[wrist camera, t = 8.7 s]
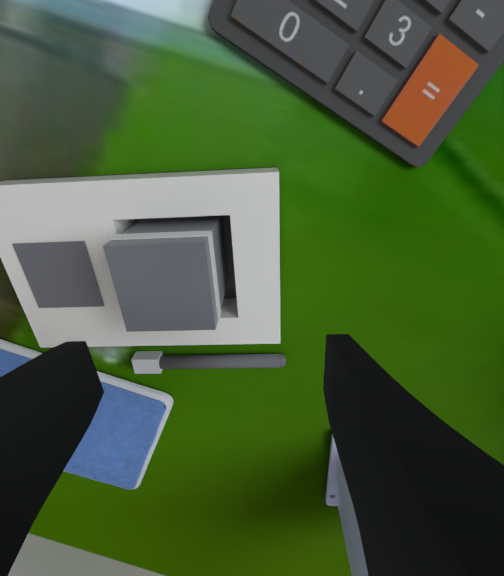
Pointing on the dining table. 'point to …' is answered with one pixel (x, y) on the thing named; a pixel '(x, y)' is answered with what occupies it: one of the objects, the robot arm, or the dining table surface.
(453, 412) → the dining table surface
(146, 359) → the cable
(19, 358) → the tablet computer
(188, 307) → the block
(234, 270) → the switch plate
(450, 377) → the dining table surface
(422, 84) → the calculator
